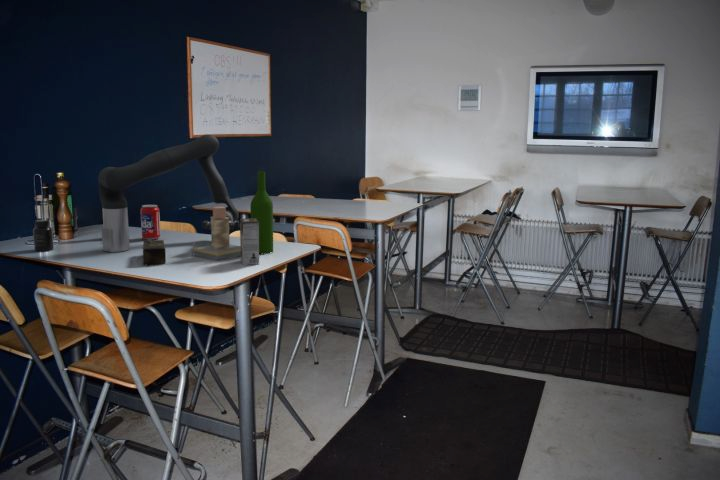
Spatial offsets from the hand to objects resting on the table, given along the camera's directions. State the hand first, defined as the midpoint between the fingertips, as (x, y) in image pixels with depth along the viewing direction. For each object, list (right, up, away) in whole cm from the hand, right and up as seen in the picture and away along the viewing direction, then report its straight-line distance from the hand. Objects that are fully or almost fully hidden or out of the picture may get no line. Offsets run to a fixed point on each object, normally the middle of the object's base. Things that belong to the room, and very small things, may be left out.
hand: (219, 227), depth 229 cm
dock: (0, -11, +2) cm, 11 cm away
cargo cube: (0, +4, -1) cm, 4 cm away
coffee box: (+14, -13, -9) cm, 21 cm away
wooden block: (0, -8, +1) cm, 8 cm away
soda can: (-38, -5, +33) cm, 51 cm away
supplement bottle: (-71, -9, +5) cm, 72 cm away
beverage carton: (-23, -13, -7) cm, 27 cm away
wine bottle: (+15, -10, +10) cm, 21 cm away
